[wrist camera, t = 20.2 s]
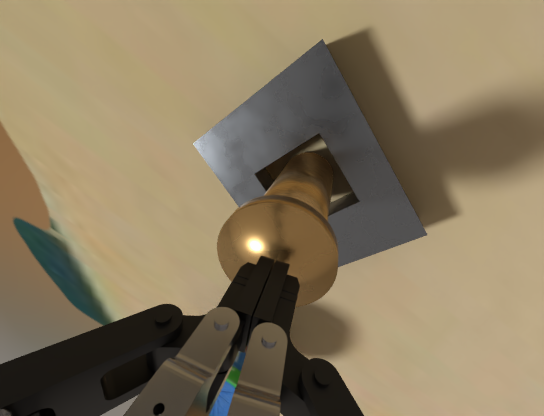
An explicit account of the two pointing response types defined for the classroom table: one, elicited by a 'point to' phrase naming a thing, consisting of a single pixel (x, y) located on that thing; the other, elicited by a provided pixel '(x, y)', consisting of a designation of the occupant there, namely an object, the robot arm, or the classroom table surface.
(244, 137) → the plate
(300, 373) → the robot arm
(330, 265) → the brass flanged peg
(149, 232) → the classroom table surface
